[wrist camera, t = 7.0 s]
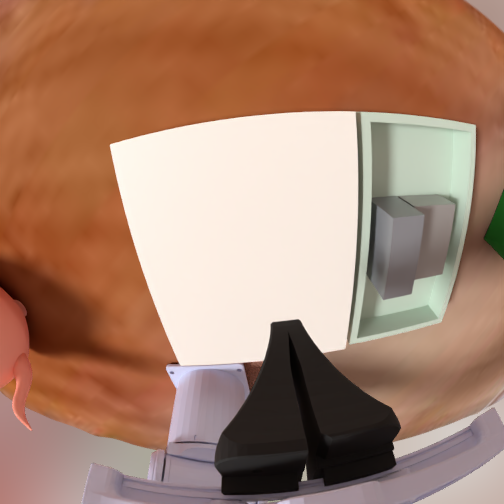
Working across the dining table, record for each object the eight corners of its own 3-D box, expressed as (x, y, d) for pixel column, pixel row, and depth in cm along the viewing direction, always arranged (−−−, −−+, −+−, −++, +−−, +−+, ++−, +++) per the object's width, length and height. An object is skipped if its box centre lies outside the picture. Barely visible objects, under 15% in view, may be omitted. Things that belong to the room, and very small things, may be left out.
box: (429, 306, 24) (441, 321, 21) (341, 324, 24) (349, 344, 22) (454, 121, 16) (475, 125, 13) (345, 111, 16) (360, 111, 14)
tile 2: (363, 270, 21) (389, 266, 21) (383, 300, 17) (411, 294, 17) (367, 197, 18) (395, 195, 18) (393, 218, 15) (424, 214, 15)
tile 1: (403, 281, 19) (391, 266, 21) (442, 274, 19) (428, 260, 21) (414, 206, 16) (398, 195, 18) (455, 204, 16) (437, 194, 18)
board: (336, 325, 24) (345, 348, 21) (185, 341, 25) (180, 365, 22) (338, 111, 16) (355, 111, 13) (129, 139, 16) (109, 144, 14)
